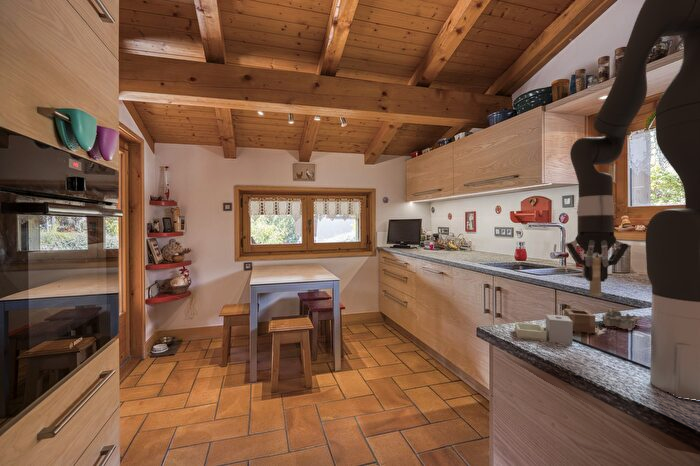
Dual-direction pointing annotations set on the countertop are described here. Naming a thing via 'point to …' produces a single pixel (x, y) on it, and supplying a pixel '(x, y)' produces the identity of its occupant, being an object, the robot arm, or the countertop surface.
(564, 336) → the off-white square block
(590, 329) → the bore block
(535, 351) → the countertop surface
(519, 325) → the tray
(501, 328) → the countertop surface
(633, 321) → the grey lumpy piece
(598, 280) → the tan wooden peg
